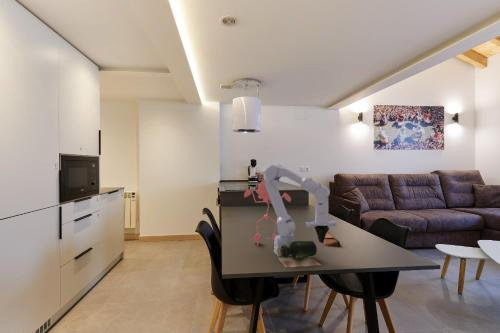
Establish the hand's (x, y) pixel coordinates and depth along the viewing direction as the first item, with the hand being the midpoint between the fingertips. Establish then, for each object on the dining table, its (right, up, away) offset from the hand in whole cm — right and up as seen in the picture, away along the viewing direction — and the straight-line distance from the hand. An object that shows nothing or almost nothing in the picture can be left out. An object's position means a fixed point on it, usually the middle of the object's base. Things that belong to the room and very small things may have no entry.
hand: (321, 242), depth 121 cm
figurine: (-23, -8, +26) cm, 36 cm away
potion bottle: (-3, -4, +4) cm, 6 cm away
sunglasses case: (+12, -9, +29) cm, 32 cm away
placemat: (-11, -8, -2) cm, 14 cm away
